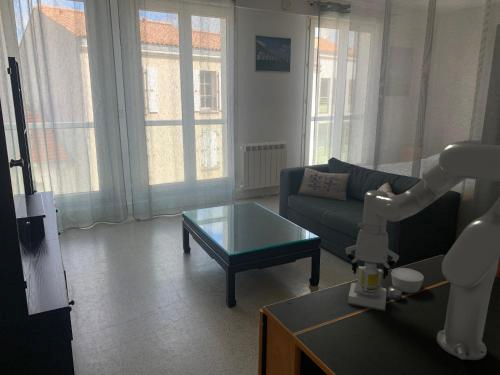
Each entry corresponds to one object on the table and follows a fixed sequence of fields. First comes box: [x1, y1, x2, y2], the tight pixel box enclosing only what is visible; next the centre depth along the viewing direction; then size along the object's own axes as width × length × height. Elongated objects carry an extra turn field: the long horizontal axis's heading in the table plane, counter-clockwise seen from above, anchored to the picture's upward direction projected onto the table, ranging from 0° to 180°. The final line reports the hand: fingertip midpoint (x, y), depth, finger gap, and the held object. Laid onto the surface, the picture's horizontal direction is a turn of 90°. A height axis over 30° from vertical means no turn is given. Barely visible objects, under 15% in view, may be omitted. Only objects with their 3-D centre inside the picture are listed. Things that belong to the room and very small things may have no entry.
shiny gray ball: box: [387, 285, 402, 301], centre depth 134 cm, size 4×4×3 cm
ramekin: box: [390, 267, 425, 294], centre depth 141 cm, size 11×11×5 cm
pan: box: [354, 281, 383, 297], centre depth 131 cm, size 7×9×2 cm
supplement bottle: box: [361, 261, 379, 292], centre depth 129 cm, size 5×5×10 cm
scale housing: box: [347, 265, 387, 312], centre depth 131 cm, size 10×12×10 cm
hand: (369, 274), depth 129 cm, fingers open, 9 cm apart
